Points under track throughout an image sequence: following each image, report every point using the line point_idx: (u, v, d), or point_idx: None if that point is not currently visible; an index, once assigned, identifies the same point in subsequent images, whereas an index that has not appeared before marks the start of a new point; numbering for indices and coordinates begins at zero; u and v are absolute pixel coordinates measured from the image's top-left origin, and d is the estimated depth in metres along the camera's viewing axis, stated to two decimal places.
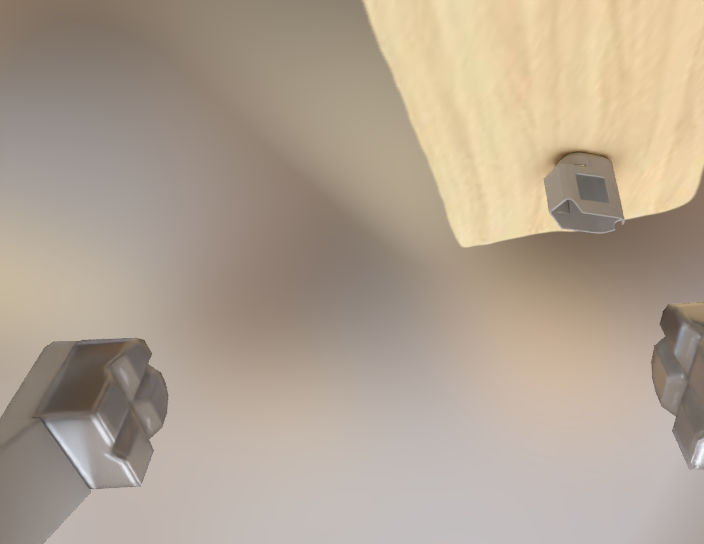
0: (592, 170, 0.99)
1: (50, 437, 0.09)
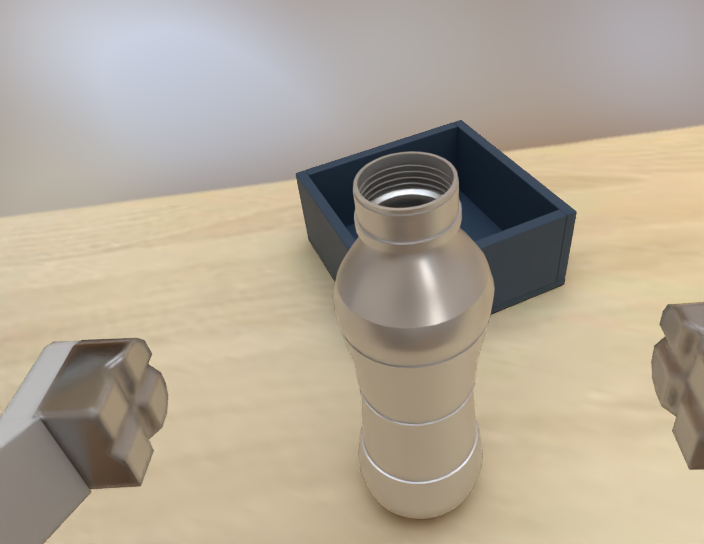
0: None
1: (50, 437, 0.09)
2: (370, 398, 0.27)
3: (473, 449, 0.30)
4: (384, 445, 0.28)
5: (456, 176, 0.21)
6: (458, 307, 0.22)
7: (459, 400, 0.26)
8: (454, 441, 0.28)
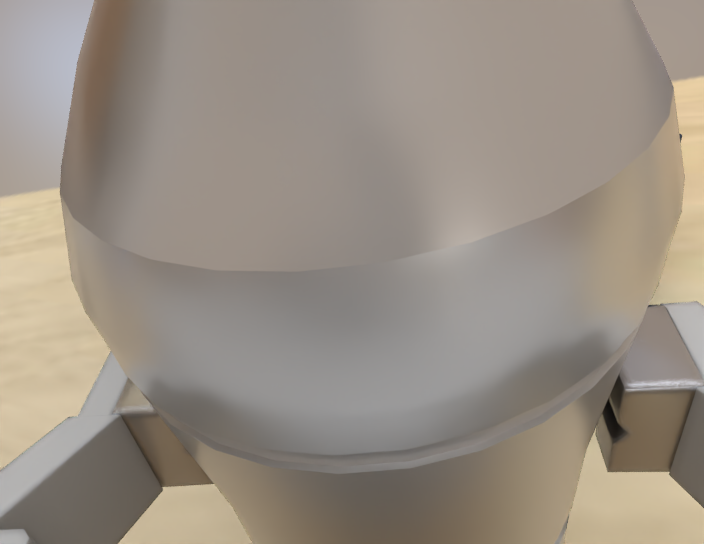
0: None
1: (129, 434, 0.08)
2: None
3: None
4: None
5: None
6: (579, 156, 0.04)
7: None
8: None
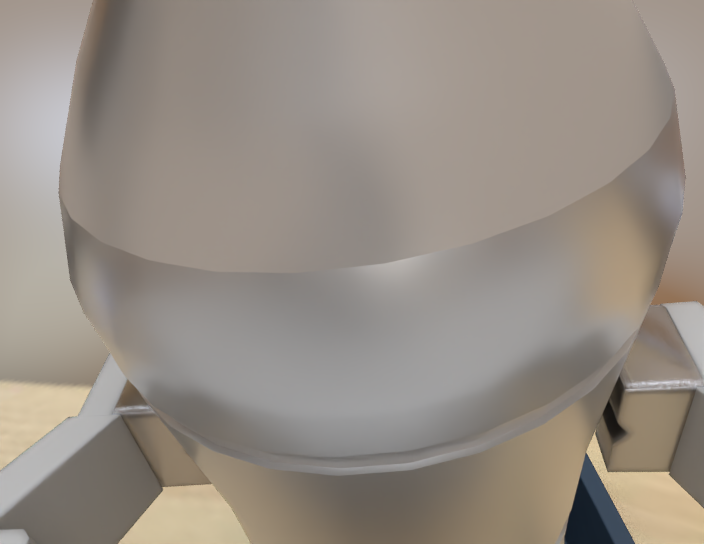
0: None
1: (129, 434, 0.08)
2: None
3: None
4: None
5: None
6: (580, 158, 0.04)
7: None
8: None
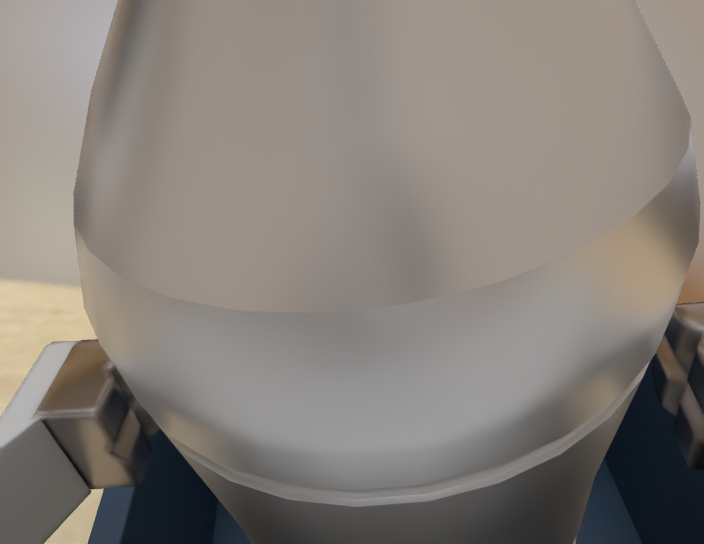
0: None
1: (50, 437, 0.09)
2: None
3: None
4: None
5: None
6: (602, 195, 0.04)
7: None
8: None
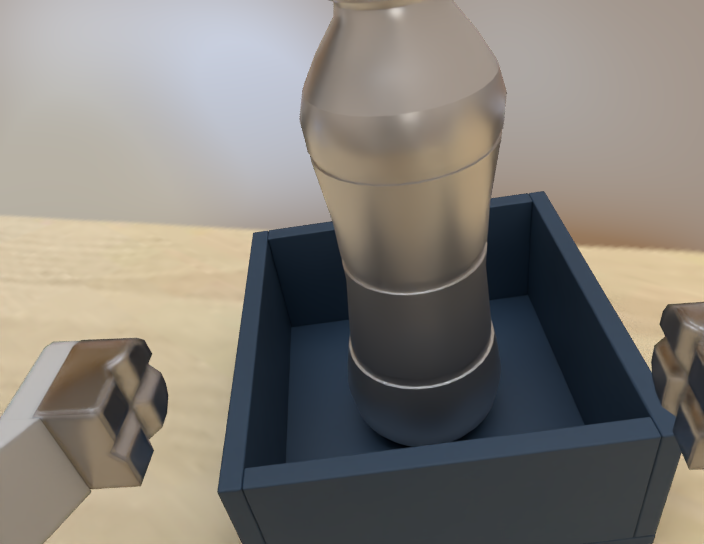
0: None
1: (50, 437, 0.09)
2: (355, 263, 0.21)
3: (490, 349, 0.24)
4: (377, 336, 0.22)
5: None
6: (461, 88, 0.17)
7: (469, 258, 0.20)
8: (465, 325, 0.22)
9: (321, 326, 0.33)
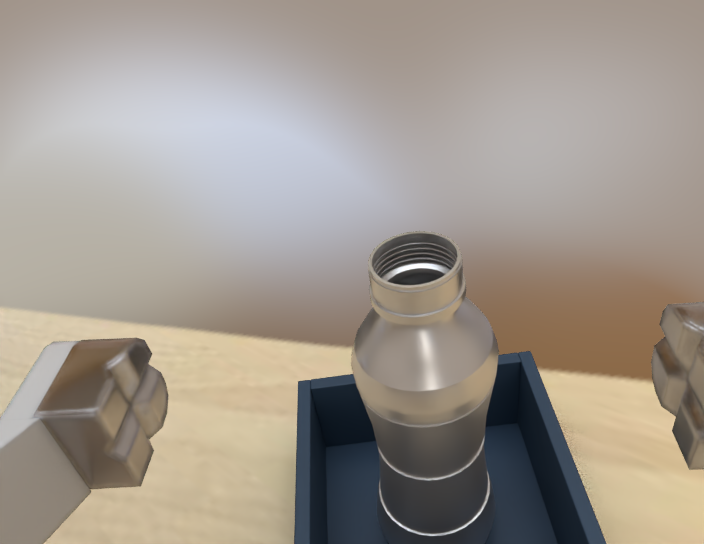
0: None
1: (50, 437, 0.09)
2: (388, 456, 0.28)
3: (487, 500, 0.32)
4: (403, 499, 0.30)
5: (459, 253, 0.23)
6: (467, 370, 0.24)
7: (471, 454, 0.28)
8: (468, 493, 0.30)
9: (350, 447, 0.41)
